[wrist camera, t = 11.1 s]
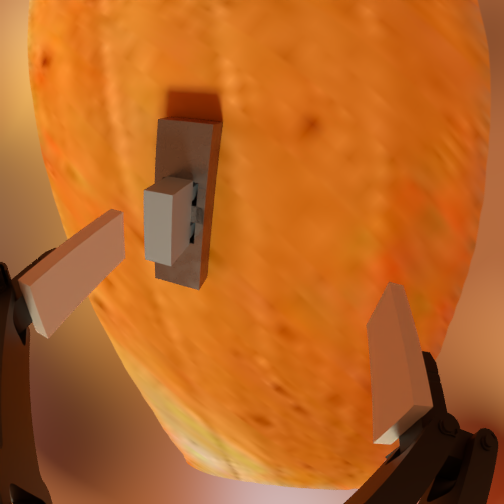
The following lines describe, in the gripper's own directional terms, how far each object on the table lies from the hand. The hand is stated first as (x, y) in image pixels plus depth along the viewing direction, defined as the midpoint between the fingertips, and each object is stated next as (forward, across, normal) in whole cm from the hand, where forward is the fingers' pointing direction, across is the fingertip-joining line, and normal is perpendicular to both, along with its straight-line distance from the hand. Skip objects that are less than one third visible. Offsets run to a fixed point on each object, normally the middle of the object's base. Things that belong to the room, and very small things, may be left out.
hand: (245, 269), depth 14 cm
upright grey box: (+29, -14, -11) cm, 34 cm away
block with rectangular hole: (+30, -14, -11) cm, 35 cm away
